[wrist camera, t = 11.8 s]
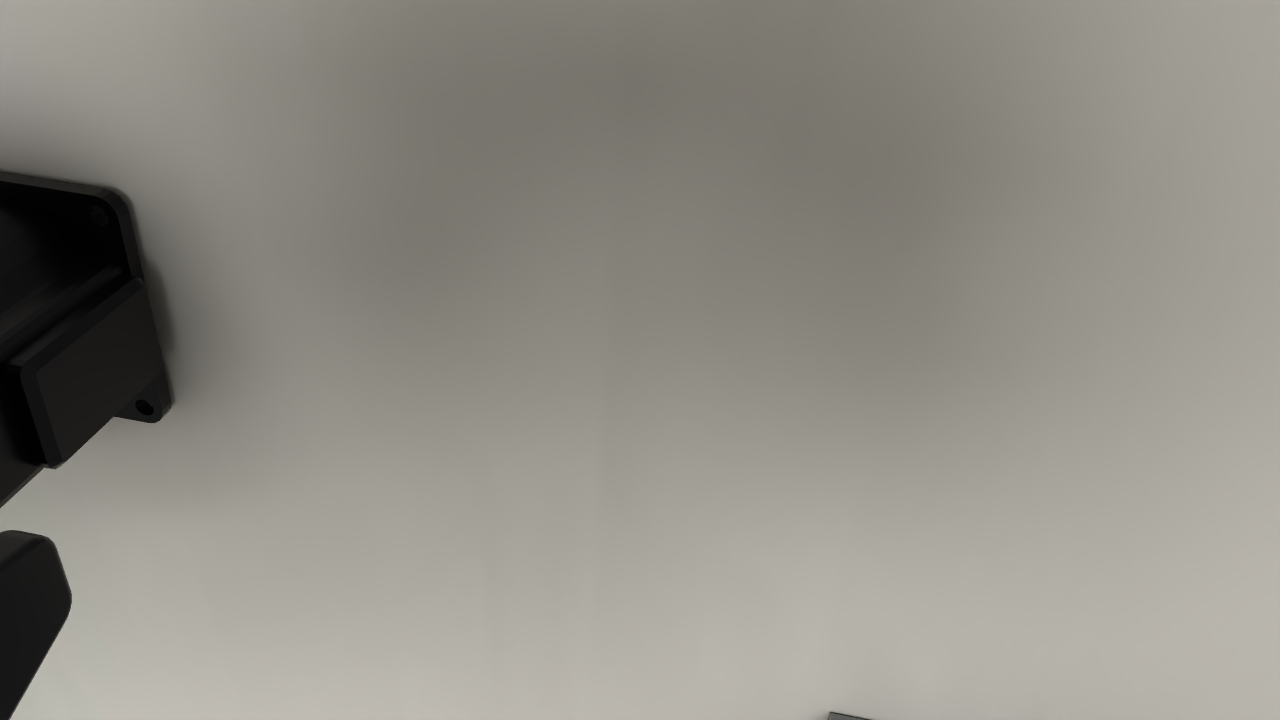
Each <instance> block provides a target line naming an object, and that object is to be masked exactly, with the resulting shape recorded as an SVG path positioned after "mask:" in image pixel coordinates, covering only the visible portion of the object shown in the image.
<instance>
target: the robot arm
mask: <svg viewBox="0 0 1280 720" xmlns="http://www.w3.org/2000/svg"><path fill="white" fill-rule="evenodd" d="M99 207H101V208H102V209H103V210H105V211H106V213H107V215H108V217H106V216H105V215H104V214H103V213H102V212H101V211H100V209H99ZM147 401H148V402H149V403H150V404H151V405H150V404H149V403H148V402H147ZM170 409H171V399H170V394H169V390H168V385H167V381H166V376H165V372H164V367H163V362H162V357H161V353H160V348H159V344H158V339H157V335H156V330H155V326H154V321H153V317H152V312H151V308H150V303H149V299H148V294H147V290H146V286H145V282H144V277H143V273H142V268H141V264H140V259H139V255H138V250H137V246H136V241H135V237H134V232H133V228H132V223H131V219H130V214H129V211H128V208H127V206H126V204H125V202H124V201H123V200H122V199H121V198H120V197H119V196H118V195H117V194H115V193H114V192H112V191H110V190H107V189H103V188H97V187H91V186H84V185H78V184H72V183H66V182H59V181H53V180H47V179H41V178H34V177H28V176H22V175H16V174H9V173H3V172H0V508H1V507H2V506H3V505H4V504H5V503H6V502H7V501H9V500H10V499H11V498H12V497H13V496H14V495H15V494H16V493H17V492H18V491H19V490H20V489H22V488H23V487H24V486H25V485H26V484H27V483H28V482H29V481H30V480H31V479H32V478H33V477H34V476H36V475H37V474H38V473H39V472H40V471H41V470H42V469H43V468H44V467H45V468H50V469H57V468H58V467H60V466H61V465H62V464H64V463H65V462H66V461H67V460H68V459H69V458H70V457H71V456H72V455H73V454H74V453H76V452H77V451H78V450H79V449H80V448H81V447H82V446H83V445H84V444H85V443H86V442H87V441H88V440H89V439H90V438H91V437H92V436H94V435H95V434H96V433H97V432H98V431H99V430H100V429H101V428H102V427H103V426H104V425H105V424H106V423H107V422H108V421H109V420H110V419H112V418H113V417H120V418H125V419H131V420H136V421H141V422H147V423H156V422H158V421H160V420H161V419H162V418H163V417H164V416H165V415H166V414H167V413H168V412H169V410H170ZM71 603H72V594H71V590H70V587H69V584H68V581H67V578H66V575H65V572H64V569H63V566H62V563H61V560H60V557H59V554H58V551H57V548H56V546H55V544H54V542H53V541H52V540H50V539H49V538H48V537H45V536H42V535H37V534H32V533H27V532H22V531H16V530H9V531H4V532H1V533H0V720H10V718H11V716H12V714H13V713H14V711H15V709H16V707H17V706H18V704H19V702H20V700H21V699H22V697H23V695H24V693H25V692H26V690H27V688H28V686H29V685H30V683H31V681H32V679H33V678H34V676H35V674H36V672H37V671H38V669H39V667H40V665H41V664H42V662H43V660H44V658H45V656H46V655H47V653H48V651H49V649H50V648H51V646H52V644H53V642H54V641H55V639H56V637H57V635H58V634H59V632H60V630H61V628H62V627H63V625H64V623H65V621H66V619H67V617H68V614H69V612H70V608H71Z"/></svg>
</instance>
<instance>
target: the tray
mask: <svg viewBox="0 0 1280 720" xmlns="http://www.w3.org/2000/svg"><path fill="white" fill-rule="evenodd" d="M828 720H864V719H859V718H854V717H849V716H844V715H839V714H834V713H830V716H829V719H828Z"/></svg>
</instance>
